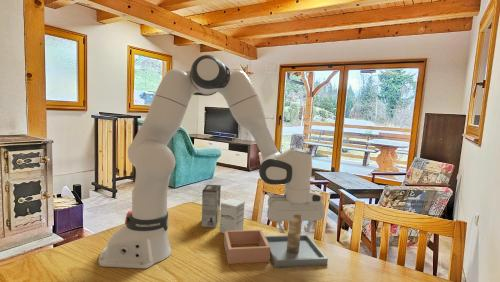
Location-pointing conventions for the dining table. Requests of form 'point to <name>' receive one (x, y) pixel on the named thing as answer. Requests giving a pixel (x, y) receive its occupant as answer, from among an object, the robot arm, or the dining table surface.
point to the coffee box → (211, 205)
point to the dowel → (294, 234)
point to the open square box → (246, 252)
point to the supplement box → (231, 215)
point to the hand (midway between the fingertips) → (294, 231)
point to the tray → (305, 256)
